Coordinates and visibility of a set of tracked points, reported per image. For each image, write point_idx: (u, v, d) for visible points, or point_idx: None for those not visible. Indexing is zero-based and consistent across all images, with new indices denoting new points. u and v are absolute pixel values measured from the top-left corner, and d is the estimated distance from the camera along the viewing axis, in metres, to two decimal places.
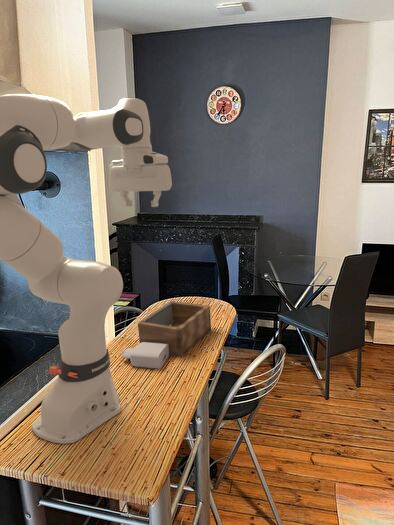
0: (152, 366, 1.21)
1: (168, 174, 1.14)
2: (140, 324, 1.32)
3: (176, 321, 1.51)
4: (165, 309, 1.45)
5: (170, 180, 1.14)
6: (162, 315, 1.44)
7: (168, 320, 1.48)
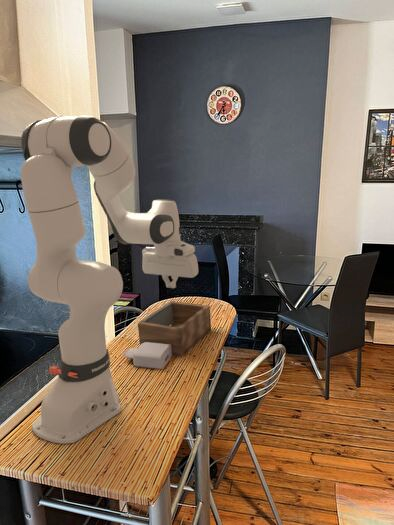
0: (154, 366, 1.21)
1: (195, 263, 1.30)
2: (140, 324, 1.32)
3: (176, 321, 1.51)
4: (165, 309, 1.45)
5: (197, 267, 1.31)
6: (162, 315, 1.44)
7: (168, 320, 1.48)
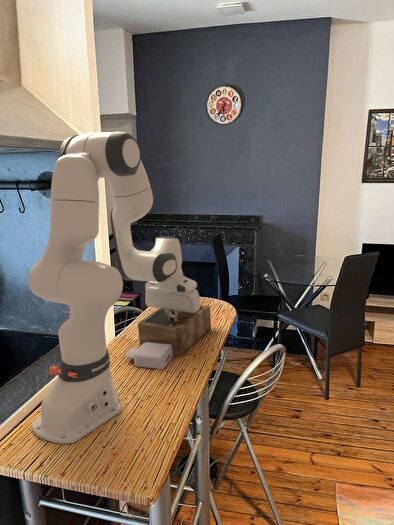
0: (155, 366, 1.21)
1: (197, 298, 1.33)
2: (140, 324, 1.32)
3: None
4: None
5: (199, 302, 1.34)
6: (162, 315, 1.44)
7: (168, 320, 1.48)
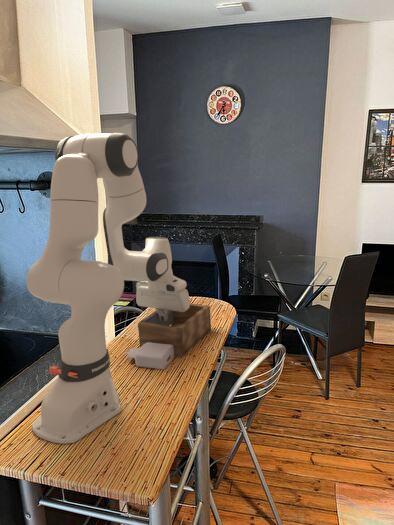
0: (156, 367, 1.21)
1: (187, 297, 1.35)
2: (140, 324, 1.32)
3: (176, 321, 1.51)
4: None
5: (188, 302, 1.36)
6: None
7: (168, 320, 1.48)
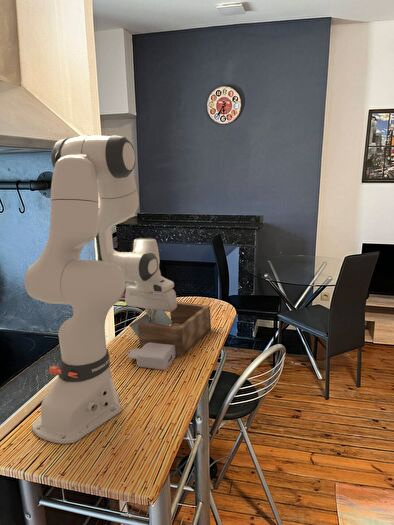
0: (158, 367, 1.20)
1: (174, 298, 1.37)
2: (140, 324, 1.32)
3: (176, 321, 1.51)
4: None
5: (175, 302, 1.38)
6: None
7: (164, 320, 1.48)
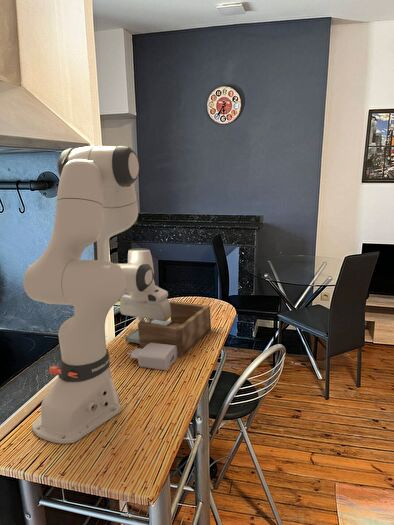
0: (159, 367, 1.20)
1: (168, 307, 1.40)
2: (140, 324, 1.32)
3: (176, 321, 1.51)
4: None
5: (170, 311, 1.40)
6: None
7: (162, 323, 1.49)
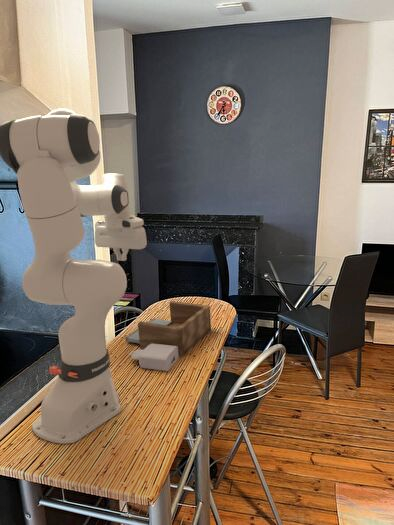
0: (160, 368, 1.20)
1: (143, 235, 1.35)
2: (140, 324, 1.32)
3: (176, 321, 1.51)
4: None
5: (145, 239, 1.35)
6: None
7: (162, 323, 1.49)
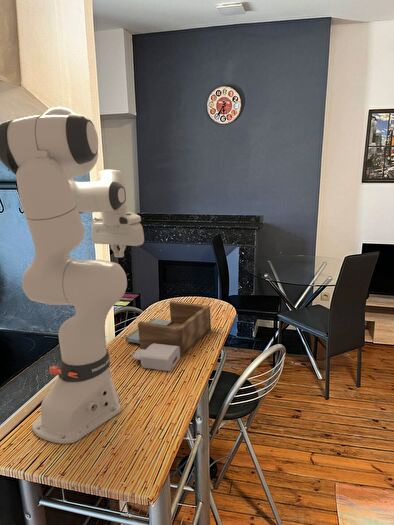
0: (162, 368, 1.19)
1: (141, 231, 1.34)
2: (140, 324, 1.32)
3: (176, 321, 1.51)
4: None
5: (142, 236, 1.35)
6: None
7: (162, 323, 1.49)
